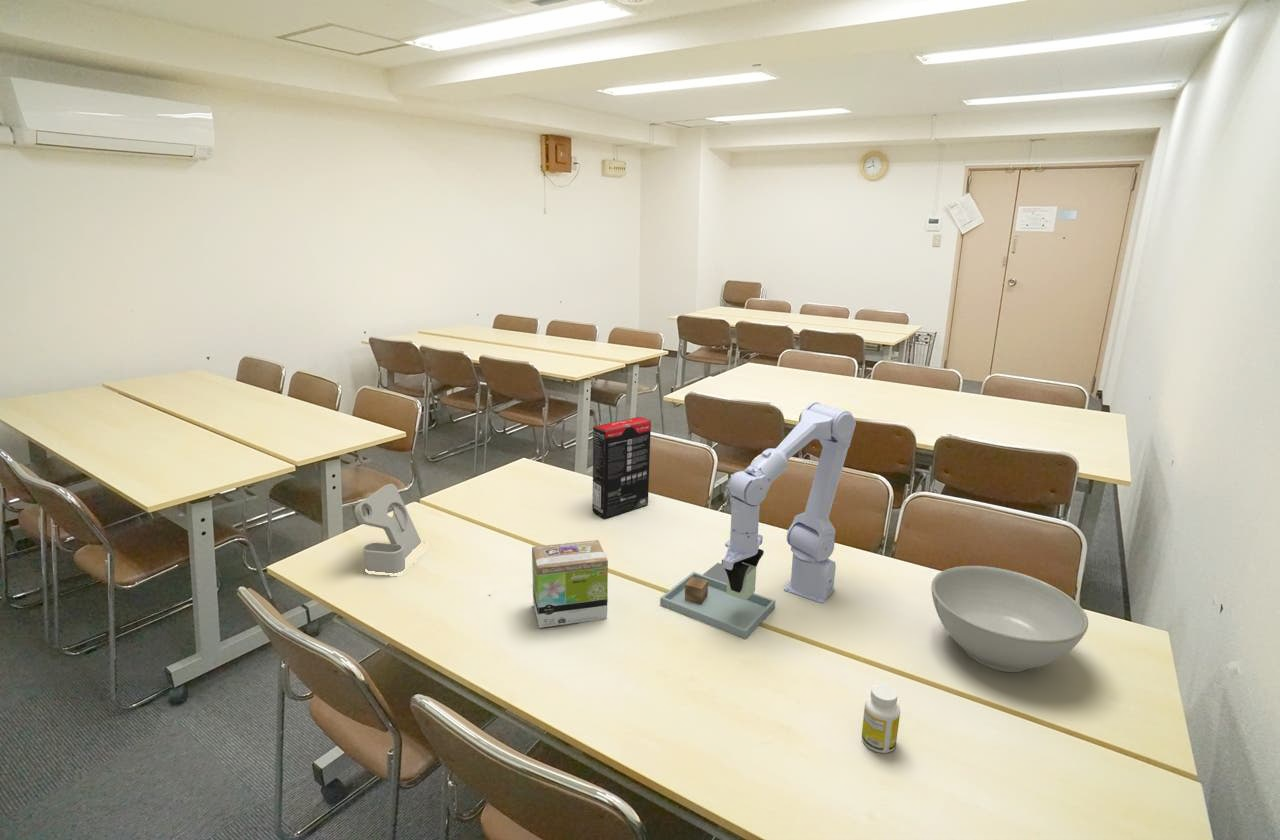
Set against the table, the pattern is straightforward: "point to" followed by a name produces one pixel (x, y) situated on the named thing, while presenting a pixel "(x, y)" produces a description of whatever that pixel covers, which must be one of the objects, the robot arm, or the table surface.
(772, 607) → the tray
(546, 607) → the tea box
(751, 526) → the robot arm
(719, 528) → the table surface
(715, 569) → the mat
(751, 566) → the pale green box
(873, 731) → the supplement bottle
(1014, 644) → the decorative bowl
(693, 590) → the walnut block
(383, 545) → the phone holder
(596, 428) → the graphics card box
